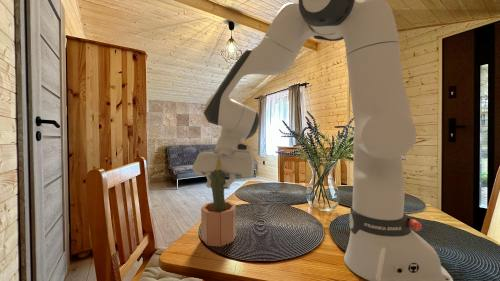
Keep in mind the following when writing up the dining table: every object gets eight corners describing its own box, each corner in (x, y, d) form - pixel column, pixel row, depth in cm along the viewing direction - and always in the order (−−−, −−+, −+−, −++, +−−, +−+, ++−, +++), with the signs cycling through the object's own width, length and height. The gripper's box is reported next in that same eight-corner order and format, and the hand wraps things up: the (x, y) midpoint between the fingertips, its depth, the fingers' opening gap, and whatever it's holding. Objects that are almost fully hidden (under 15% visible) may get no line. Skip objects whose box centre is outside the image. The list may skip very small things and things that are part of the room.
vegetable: (223, 223, 70) (222, 158, 68) (210, 222, 71) (208, 158, 69) (227, 217, 74) (226, 156, 72) (215, 216, 75) (213, 155, 73)
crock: (238, 231, 77) (238, 202, 76) (230, 247, 67) (230, 214, 66) (209, 228, 79) (209, 200, 78) (198, 244, 69) (197, 212, 68)
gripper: (196, 145, 80) (183, 180, 71) (254, 146, 75) (247, 184, 66) (203, 155, 84) (190, 190, 76) (257, 157, 79) (251, 194, 71)
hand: (217, 187), depth 71 cm, fingers closed on vegetable, 4 cm apart
